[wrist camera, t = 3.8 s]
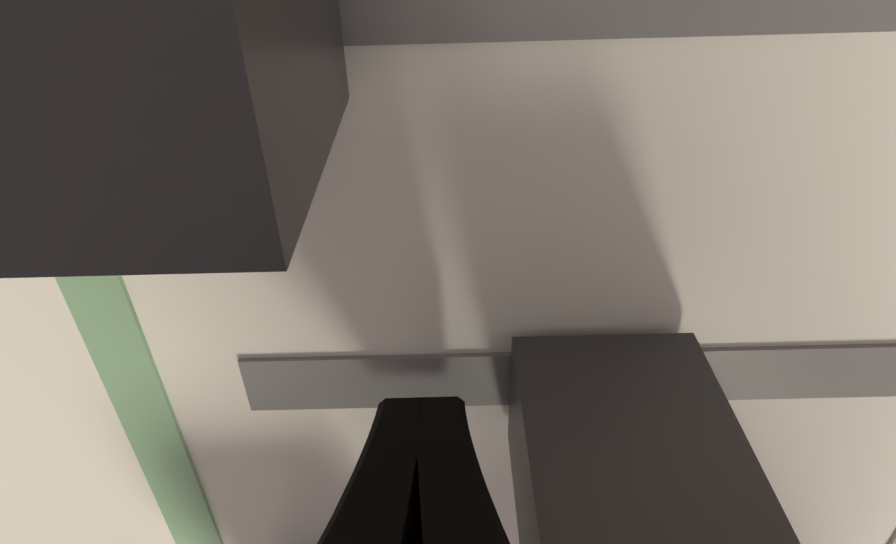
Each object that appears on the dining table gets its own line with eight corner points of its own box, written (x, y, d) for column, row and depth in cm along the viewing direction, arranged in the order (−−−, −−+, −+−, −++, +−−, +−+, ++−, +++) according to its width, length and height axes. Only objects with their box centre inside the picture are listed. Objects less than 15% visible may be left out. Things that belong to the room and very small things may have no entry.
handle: (349, 97, 8) (286, 270, 5) (118, 103, 8) (-98, 280, 5) (324, -119, 7) (215, -80, 4) (48, -112, 7) (-313, -67, 4)
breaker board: (987, 558, 18) (1044, 633, 17) (22, 577, 19) (-21, 653, 17) (1703, -345, 8) (2076, -399, 6) (-595, -274, 8) (-890, -306, 6)
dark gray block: (668, 431, 12) (756, 661, 9) (507, 435, 12) (532, 665, 9) (693, 333, 10) (808, 559, 7) (511, 337, 11) (543, 565, 7)
